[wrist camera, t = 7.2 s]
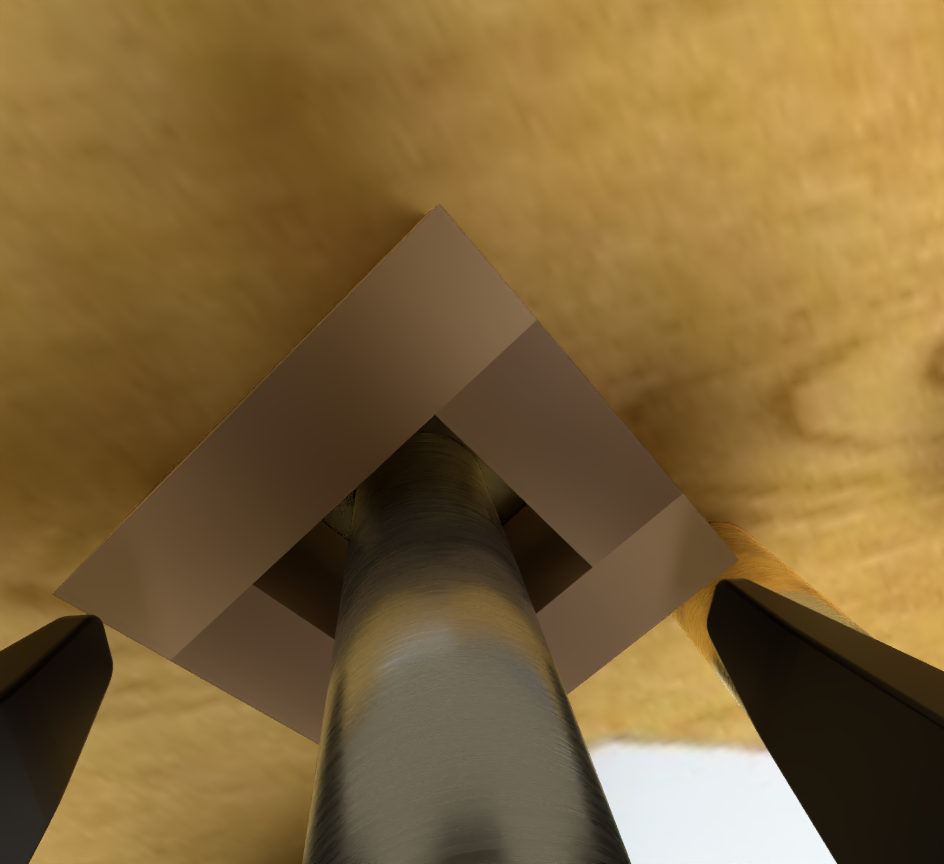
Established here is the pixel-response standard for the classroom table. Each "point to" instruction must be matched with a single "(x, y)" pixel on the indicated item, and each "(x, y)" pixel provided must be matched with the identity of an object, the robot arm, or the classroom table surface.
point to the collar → (361, 452)
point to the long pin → (446, 690)
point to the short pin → (760, 570)
